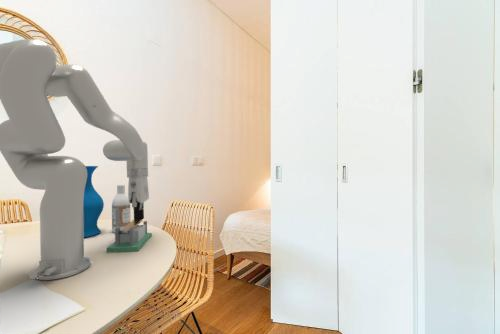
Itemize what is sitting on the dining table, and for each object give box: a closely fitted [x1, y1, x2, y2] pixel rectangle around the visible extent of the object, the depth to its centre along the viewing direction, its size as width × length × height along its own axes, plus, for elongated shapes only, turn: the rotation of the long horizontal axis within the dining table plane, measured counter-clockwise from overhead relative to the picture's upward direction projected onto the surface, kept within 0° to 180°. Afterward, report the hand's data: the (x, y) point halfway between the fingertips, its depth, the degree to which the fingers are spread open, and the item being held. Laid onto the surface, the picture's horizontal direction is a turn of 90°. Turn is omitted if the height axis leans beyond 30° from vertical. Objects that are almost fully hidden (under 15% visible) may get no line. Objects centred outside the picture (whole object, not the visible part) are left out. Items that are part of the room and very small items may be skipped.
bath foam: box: [111, 184, 131, 234], centre depth 104 cm, size 7×7×20 cm
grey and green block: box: [106, 220, 153, 253], centre depth 88 cm, size 16×10×8 cm, turn 7°
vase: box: [83, 165, 105, 238], centre depth 98 cm, size 12×13×28 cm
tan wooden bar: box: [119, 219, 143, 234], centre depth 89 cm, size 14×3×1 cm, turn 7°
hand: (139, 219), depth 95 cm, fingers closed
